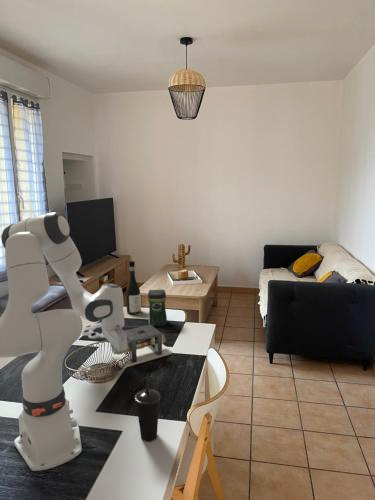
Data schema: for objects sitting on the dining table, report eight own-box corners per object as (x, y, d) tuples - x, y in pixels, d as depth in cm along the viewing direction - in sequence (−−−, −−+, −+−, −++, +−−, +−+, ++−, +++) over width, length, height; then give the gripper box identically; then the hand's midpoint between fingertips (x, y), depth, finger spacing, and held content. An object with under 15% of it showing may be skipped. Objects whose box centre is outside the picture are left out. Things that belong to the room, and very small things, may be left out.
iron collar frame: (151, 344, 173) (150, 324, 171) (162, 354, 164) (161, 333, 162) (122, 352, 166) (121, 331, 164) (132, 363, 157) (131, 340, 155)
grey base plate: (160, 344, 176) (160, 342, 176) (172, 353, 167) (172, 351, 167) (111, 357, 164) (111, 355, 164) (121, 368, 155) (121, 366, 154)
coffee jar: (167, 320, 204) (166, 287, 200) (166, 326, 196) (165, 292, 192) (149, 320, 204) (148, 287, 200) (147, 326, 196) (146, 292, 192)
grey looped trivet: (95, 321, 205) (94, 318, 204) (127, 326, 199) (127, 322, 198) (73, 336, 186) (73, 332, 186) (108, 341, 180) (108, 337, 180)
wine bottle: (143, 312, 215) (141, 261, 209) (130, 316, 211) (128, 263, 205) (137, 308, 222) (135, 259, 216) (124, 311, 217) (122, 261, 211)
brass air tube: (161, 340, 172) (161, 332, 171) (165, 343, 168) (165, 335, 168) (115, 353, 160) (115, 344, 160) (119, 356, 157) (118, 348, 156)
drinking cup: (140, 448, 110) (137, 386, 106) (133, 432, 117) (130, 373, 113) (165, 440, 113) (163, 380, 109) (156, 425, 120) (155, 367, 116)
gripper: (130, 328, 148) (132, 361, 151) (112, 312, 165) (113, 341, 168) (115, 332, 145) (117, 365, 148) (98, 315, 162) (99, 345, 165)
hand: (115, 352), depth 158 cm, fingers closed, pressing on brass air tube
